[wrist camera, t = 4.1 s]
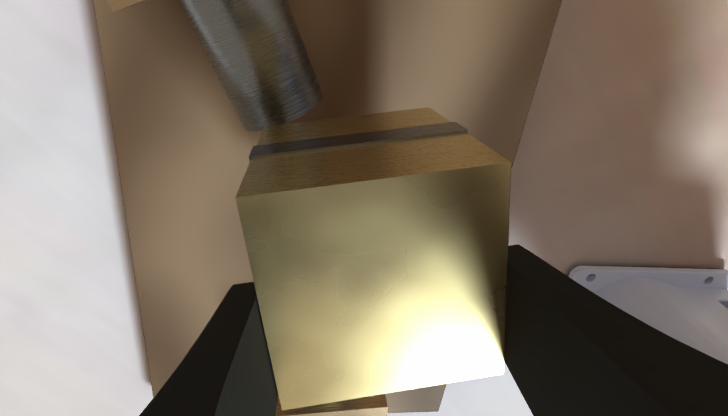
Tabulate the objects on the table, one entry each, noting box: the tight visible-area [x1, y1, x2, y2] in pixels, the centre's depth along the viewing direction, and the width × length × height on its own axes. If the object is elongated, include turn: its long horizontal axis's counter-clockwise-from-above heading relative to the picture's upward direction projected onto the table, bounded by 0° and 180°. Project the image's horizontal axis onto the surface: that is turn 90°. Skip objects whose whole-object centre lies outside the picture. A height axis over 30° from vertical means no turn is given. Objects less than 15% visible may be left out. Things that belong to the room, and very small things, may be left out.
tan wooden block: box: [235, 107, 511, 411], centre depth 12 cm, size 5×5×6 cm
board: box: [93, 0, 562, 413], centre depth 18 cm, size 15×27×1 cm, turn 173°
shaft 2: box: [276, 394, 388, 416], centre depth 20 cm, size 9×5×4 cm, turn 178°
